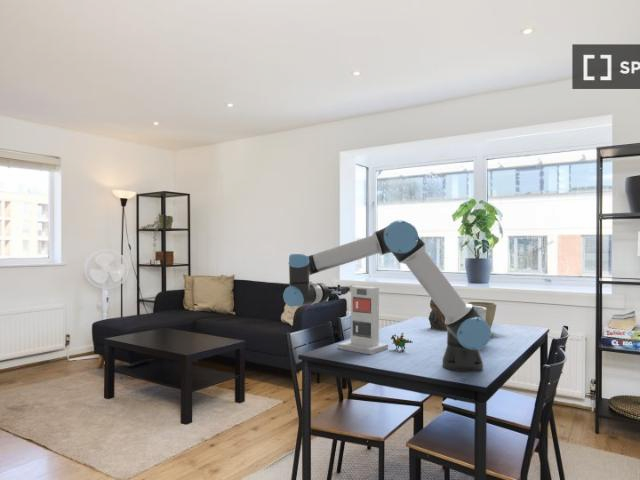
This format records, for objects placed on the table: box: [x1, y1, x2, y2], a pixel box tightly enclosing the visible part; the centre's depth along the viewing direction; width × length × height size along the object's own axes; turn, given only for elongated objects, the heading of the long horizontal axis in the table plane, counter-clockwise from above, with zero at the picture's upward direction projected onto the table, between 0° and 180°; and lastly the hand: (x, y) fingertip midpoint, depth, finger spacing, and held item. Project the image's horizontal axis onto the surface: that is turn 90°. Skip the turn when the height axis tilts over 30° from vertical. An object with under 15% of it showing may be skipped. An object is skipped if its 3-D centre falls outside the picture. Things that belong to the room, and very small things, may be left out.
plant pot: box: [467, 301, 497, 330], centre depth 247 cm, size 15×15×16 cm
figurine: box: [390, 332, 414, 352], centre depth 203 cm, size 3×12×8 cm, turn 45°
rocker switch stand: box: [337, 285, 389, 355], centre depth 207 cm, size 14×18×28 cm
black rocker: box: [353, 323, 371, 336], centre depth 206 cm, size 2×8×5 cm, turn 63°
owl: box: [428, 298, 447, 332], centre depth 260 cm, size 13×13×20 cm
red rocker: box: [353, 299, 371, 311], centre depth 206 cm, size 2×8×5 cm, turn 65°
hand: (351, 288), depth 195 cm, fingers closed
